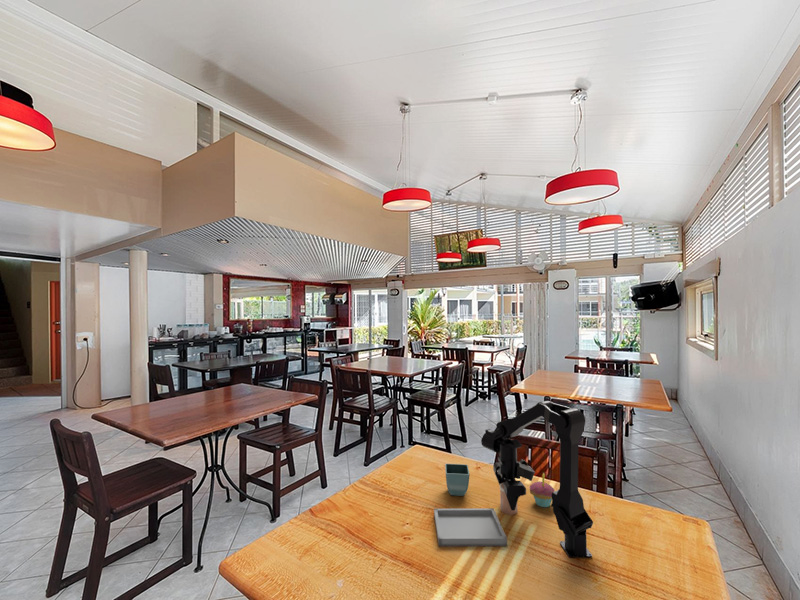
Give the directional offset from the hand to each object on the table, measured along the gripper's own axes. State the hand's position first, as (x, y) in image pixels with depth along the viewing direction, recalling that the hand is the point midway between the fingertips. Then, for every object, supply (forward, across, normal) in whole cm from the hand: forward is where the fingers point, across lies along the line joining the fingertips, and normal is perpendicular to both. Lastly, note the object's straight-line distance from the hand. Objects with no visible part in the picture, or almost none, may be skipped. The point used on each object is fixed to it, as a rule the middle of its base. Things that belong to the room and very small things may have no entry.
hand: (508, 502), depth 126 cm
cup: (+2, 0, 0) cm, 2 cm away
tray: (+2, -11, +16) cm, 20 cm away
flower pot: (+3, +12, +16) cm, 20 cm away
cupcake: (+3, +4, -13) cm, 14 cm away
